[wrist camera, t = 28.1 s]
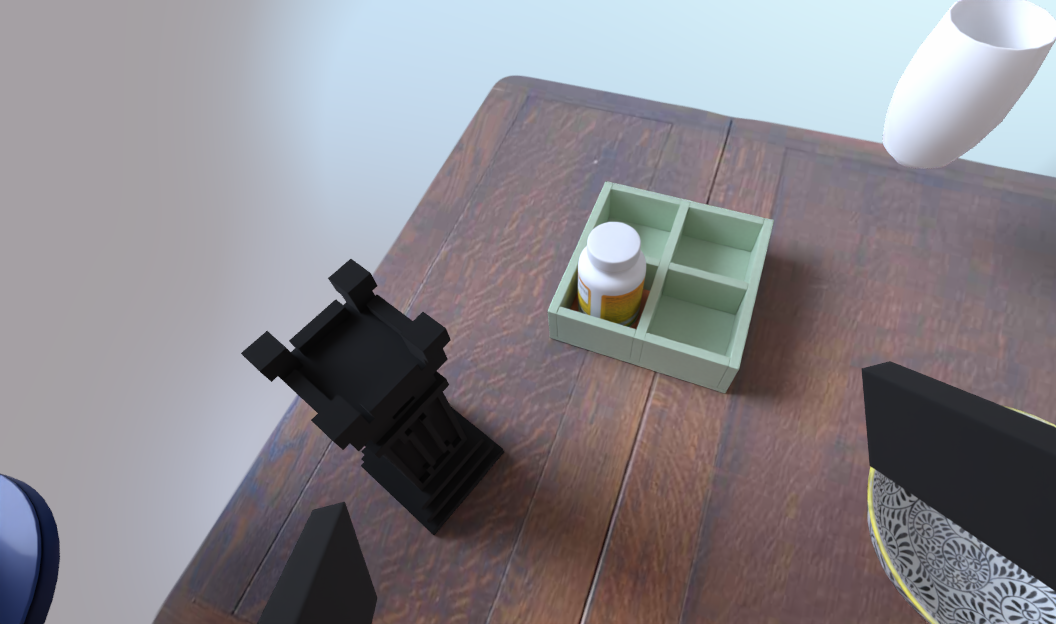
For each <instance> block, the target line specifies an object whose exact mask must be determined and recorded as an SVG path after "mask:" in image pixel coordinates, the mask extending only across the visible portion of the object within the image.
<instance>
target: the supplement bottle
mask: <svg viewBox="0 0 1056 624" xmlns="http://www.w3.org/2000/svg"><path fill="white" fill-rule="evenodd" d="M645 275H646V259H645V256H644V254H643V252H642V251H641V240H640V237H639V234H638V233H637V232H636V230H635V229H633V228H632V227H631V226H629V225H627V224H624V223H621V222H607V223H603V224H601V225H599V226H597V227H595V228H594V229H593V230H592V231H591V233H590V234H589V236H588V240H587V246H586V247H585V248H584V249H583V251H582V253H581V255H580V257H579V262H578V310H579V312H580V313H583V314H587V315H590V316H593V317H597V318H600V319H603V320H607V321H610V322H613V323H617V324H620V325H623V326H627V327H631V326H632V325H633V324H634V322H635V321H636V319H637V317H638V314H639V310H640V304H641V298H642V292H643V286H644V280H645Z"/></svg>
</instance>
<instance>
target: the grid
mask: <svg viewBox="0 0 1056 624" xmlns="http://www.w3.org/2000/svg"><path fill="white" fill-rule="evenodd" d="M607 222H621V223H624V224H627V225H629V226H631V227H632V228H633V229H635V230H636V232H637V233H638V234H639V237H640V240H641V251H642V252H643V254H644V256H645V259H646V275H645V280H644V286H643V292H642V298H641V304H640V310H639V314H638V317H637V319H636V321H635V322H634V324H633V325H632V326H631V327H627V326H623V325H620V324H617V323H613V322H610V321H607V320H603V319H600V318H597V317H593V316H590V315H587V314H583V313H580V312H579V310H578V262H579V257H580V255H581V253H582V251H583V249H584V248H585V247H586V246H587V240H588V236H589V234H590V233H591V231H592V230H593V229H594V228H595V227H597V226H599V225H601V224H603V223H607ZM773 223H774V220H771V219H766V218H765V219H764V218H762V217H758V216H754V215H749V214H745V213H741V212H736V211H732V210H728V209H723V208H719V207H715V206H710V205H706V204H702V203H697V202H693V201H690V200H685V199H681V198H676V197H672V196H668V195H663V194H659V193H655V192H650V191H646V190H642V189H637V188H633V187H629V186H624V185H620V184H616V183H614V184H613V183H611V182H607V181H606V182H605V184H604V186H603V189H602V191H601V193H600V195H599V198H598V200H597V202H596V204H595V206H594V209H593V211H592V213H591V215H590V218H589V220H588V222H587V224H586V227H585V229H584V231H583V233H582V235H581V238H580V240H579V242H578V244H577V247H576V249H575V251H574V253H573V255H572V258H571V260H570V262H569V264H568V267H567V269H566V271H565V273H564V276H563V278H562V280H561V282H560V284H559V287H558V289H557V291H556V293H555V296H554V298H553V300H552V302H551V305H550V307H549V309H548V320H549V331H550V338H552V339H555V340H558V341H561V342H565V343H568V344H571V345H574V346H577V347H580V348H583V349H587V350H590V351H593V352H596V353H599V354H602V355H605V356H609V357H612V358H615V359H618V360H621V361H624V362H627V363H631V364H634V365H637V366H640V367H643V368H646V369H650V370H653V371H656V372H659V373H662V374H665V375H668V376H672V377H675V378H678V379H681V380H684V381H687V382H690V383H694V384H697V385H700V386H703V387H706V388H709V389H712V390H716V391H719V392H722V393H726V391H727V389H728V388H729V386H730V384H731V382H732V381H733V379H734V377H735V376H736V374H737V372H738V370H739V368H740V364H741V359H742V355H743V351H744V346H745V342H746V338H747V334H748V329H749V325H750V321H751V317H752V312H753V308H754V304H755V300H756V295H757V291H758V287H759V282H760V278H761V274H762V270H763V265H764V261H765V257H766V253H767V248H768V244H769V240H770V236H771V231H772V227H773Z"/></svg>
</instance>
